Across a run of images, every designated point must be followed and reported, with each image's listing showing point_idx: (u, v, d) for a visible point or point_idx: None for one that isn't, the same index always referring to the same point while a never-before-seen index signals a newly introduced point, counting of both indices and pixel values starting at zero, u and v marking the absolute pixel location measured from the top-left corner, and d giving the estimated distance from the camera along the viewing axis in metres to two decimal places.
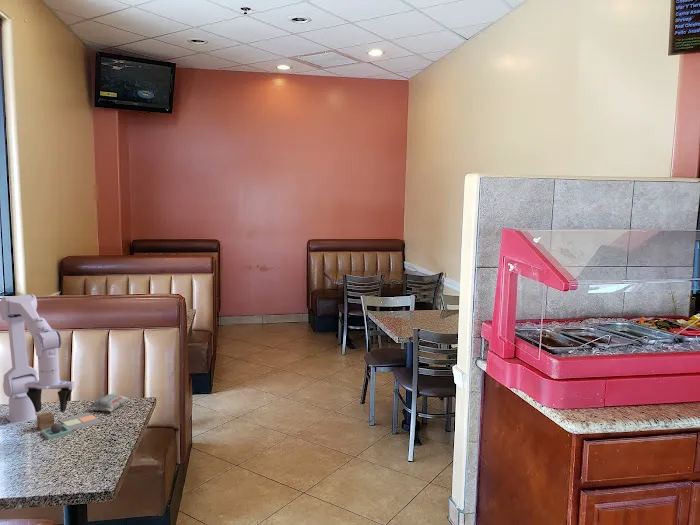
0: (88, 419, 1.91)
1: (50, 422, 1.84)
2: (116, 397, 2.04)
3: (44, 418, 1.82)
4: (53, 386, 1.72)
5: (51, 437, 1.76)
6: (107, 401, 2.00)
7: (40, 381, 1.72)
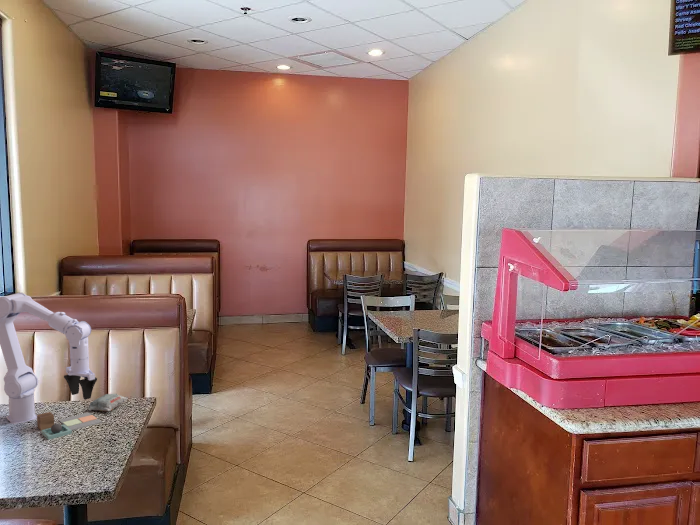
0: (88, 419, 1.91)
1: (50, 422, 1.84)
2: (114, 397, 2.04)
3: (44, 418, 1.82)
4: (77, 374, 1.86)
5: (51, 437, 1.76)
6: (105, 401, 2.00)
7: None
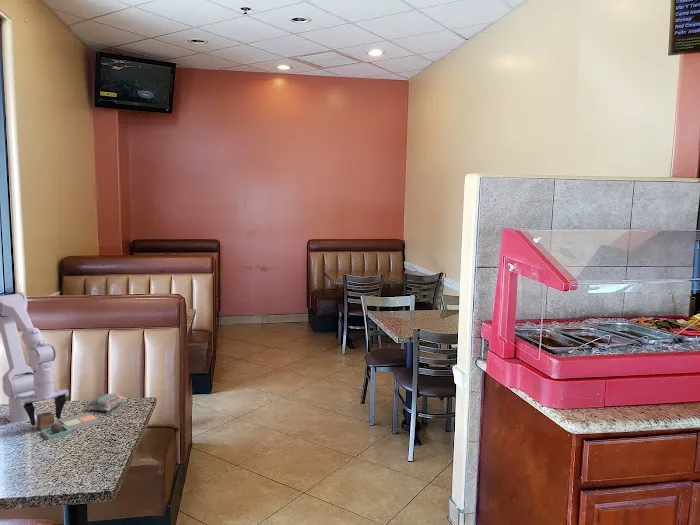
0: (88, 419, 1.91)
1: (50, 422, 1.84)
2: (113, 397, 2.04)
3: (44, 418, 1.82)
4: (54, 395, 1.84)
5: (51, 437, 1.76)
6: (104, 401, 2.00)
7: (41, 393, 1.81)
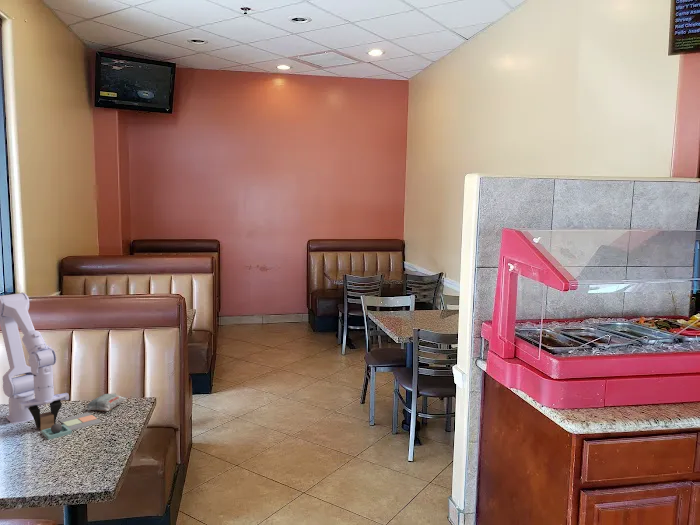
0: (88, 419, 1.91)
1: (50, 422, 1.84)
2: (113, 397, 2.04)
3: (44, 418, 1.82)
4: (54, 399, 1.84)
5: (51, 437, 1.76)
6: (104, 401, 2.00)
7: (41, 397, 1.81)
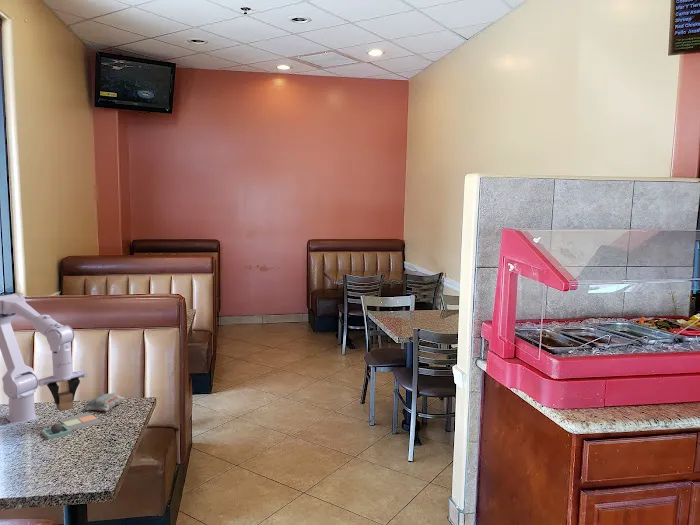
0: (88, 419, 1.91)
1: (69, 401, 1.85)
2: (112, 396, 2.04)
3: (63, 397, 1.84)
4: (72, 376, 1.85)
5: (51, 437, 1.76)
6: (103, 401, 2.00)
7: (59, 374, 1.83)
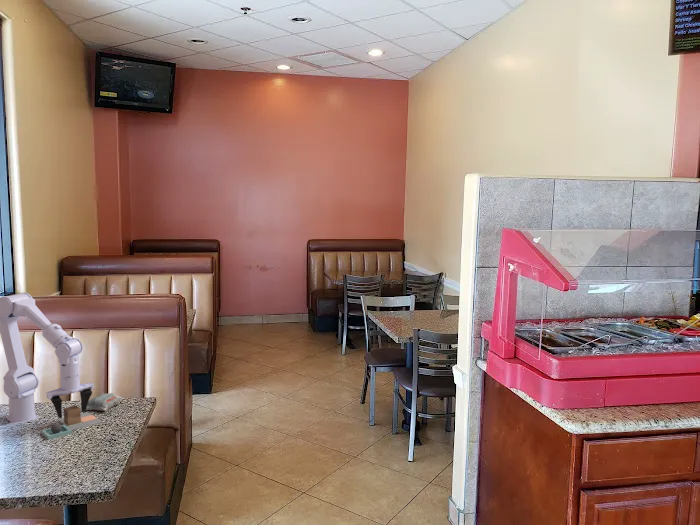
0: (88, 419, 1.91)
1: (76, 415, 1.87)
2: (110, 396, 2.04)
3: (71, 412, 1.86)
4: (80, 388, 1.87)
5: (51, 437, 1.76)
6: (101, 401, 2.00)
7: (67, 386, 1.84)
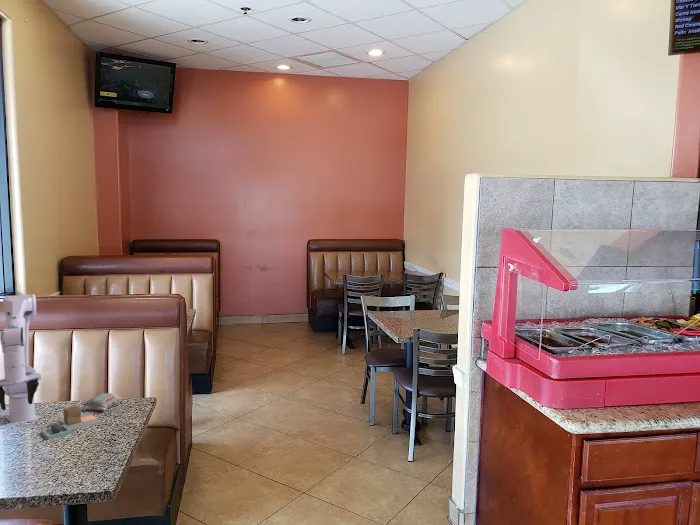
0: (88, 419, 1.91)
1: (76, 415, 1.87)
2: (109, 396, 2.05)
3: (71, 412, 1.86)
4: (25, 379, 1.77)
5: (51, 437, 1.76)
6: (100, 400, 2.00)
7: (11, 377, 1.75)
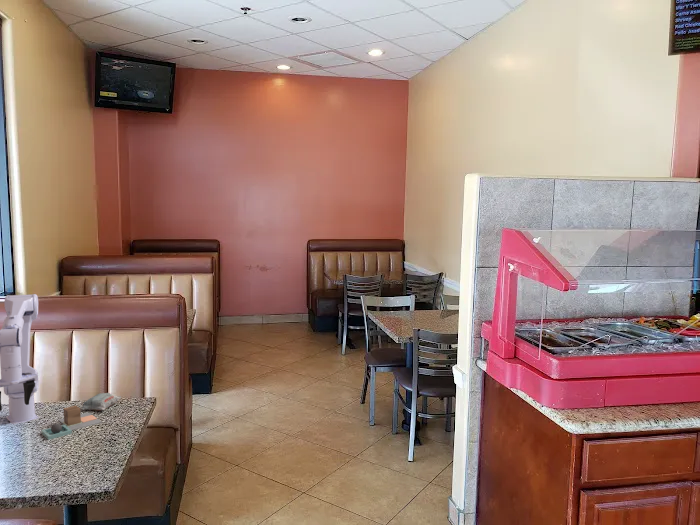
0: (88, 419, 1.91)
1: (76, 415, 1.87)
2: (108, 396, 2.05)
3: (71, 412, 1.86)
4: (22, 380, 1.77)
5: (51, 437, 1.76)
6: (99, 400, 2.00)
7: (7, 378, 1.74)
